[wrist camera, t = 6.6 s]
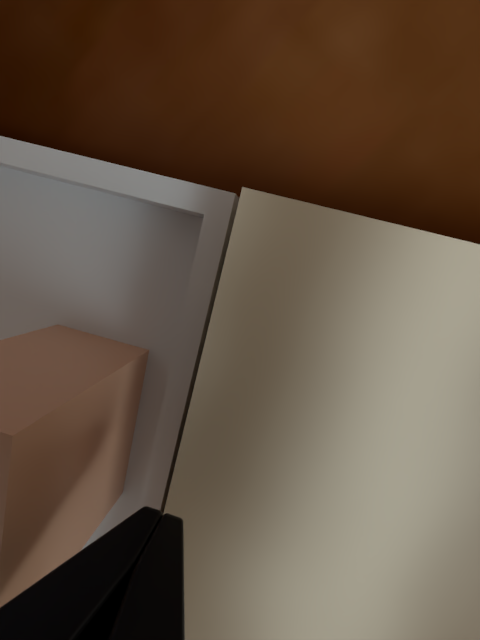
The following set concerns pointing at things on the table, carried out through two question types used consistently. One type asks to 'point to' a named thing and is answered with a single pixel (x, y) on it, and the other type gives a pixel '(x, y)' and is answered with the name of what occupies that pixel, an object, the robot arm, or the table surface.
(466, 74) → the table surface
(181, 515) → the platform
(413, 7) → the table surface
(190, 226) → the bin
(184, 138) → the table surface
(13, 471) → the tall peach block
